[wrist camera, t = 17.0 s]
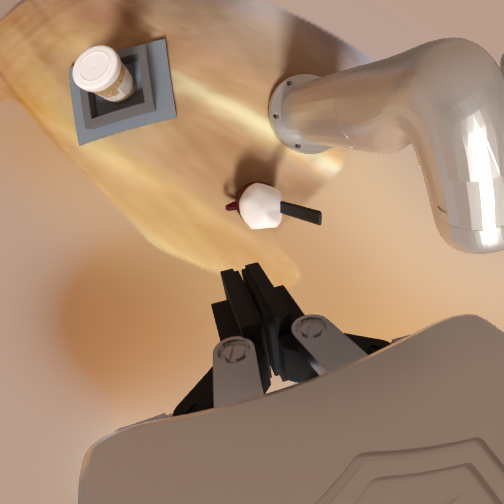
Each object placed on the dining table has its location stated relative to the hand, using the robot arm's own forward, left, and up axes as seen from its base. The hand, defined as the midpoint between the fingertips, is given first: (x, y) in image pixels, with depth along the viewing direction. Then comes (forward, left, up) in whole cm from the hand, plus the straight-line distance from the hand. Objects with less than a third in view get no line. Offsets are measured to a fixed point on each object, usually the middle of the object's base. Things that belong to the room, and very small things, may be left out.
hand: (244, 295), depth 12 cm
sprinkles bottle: (+8, -16, -28) cm, 33 cm away
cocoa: (-8, +4, -29) cm, 31 cm away
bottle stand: (+8, -16, -29) cm, 34 cm away
